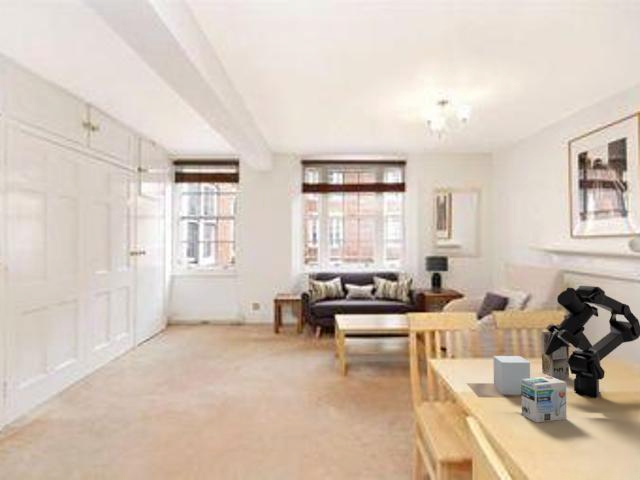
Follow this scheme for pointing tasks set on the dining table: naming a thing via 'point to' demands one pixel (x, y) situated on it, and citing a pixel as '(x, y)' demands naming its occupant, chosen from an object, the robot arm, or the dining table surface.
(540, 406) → the light bulb box
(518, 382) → the carton
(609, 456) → the dining table surface
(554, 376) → the coffee box
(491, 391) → the podium board
